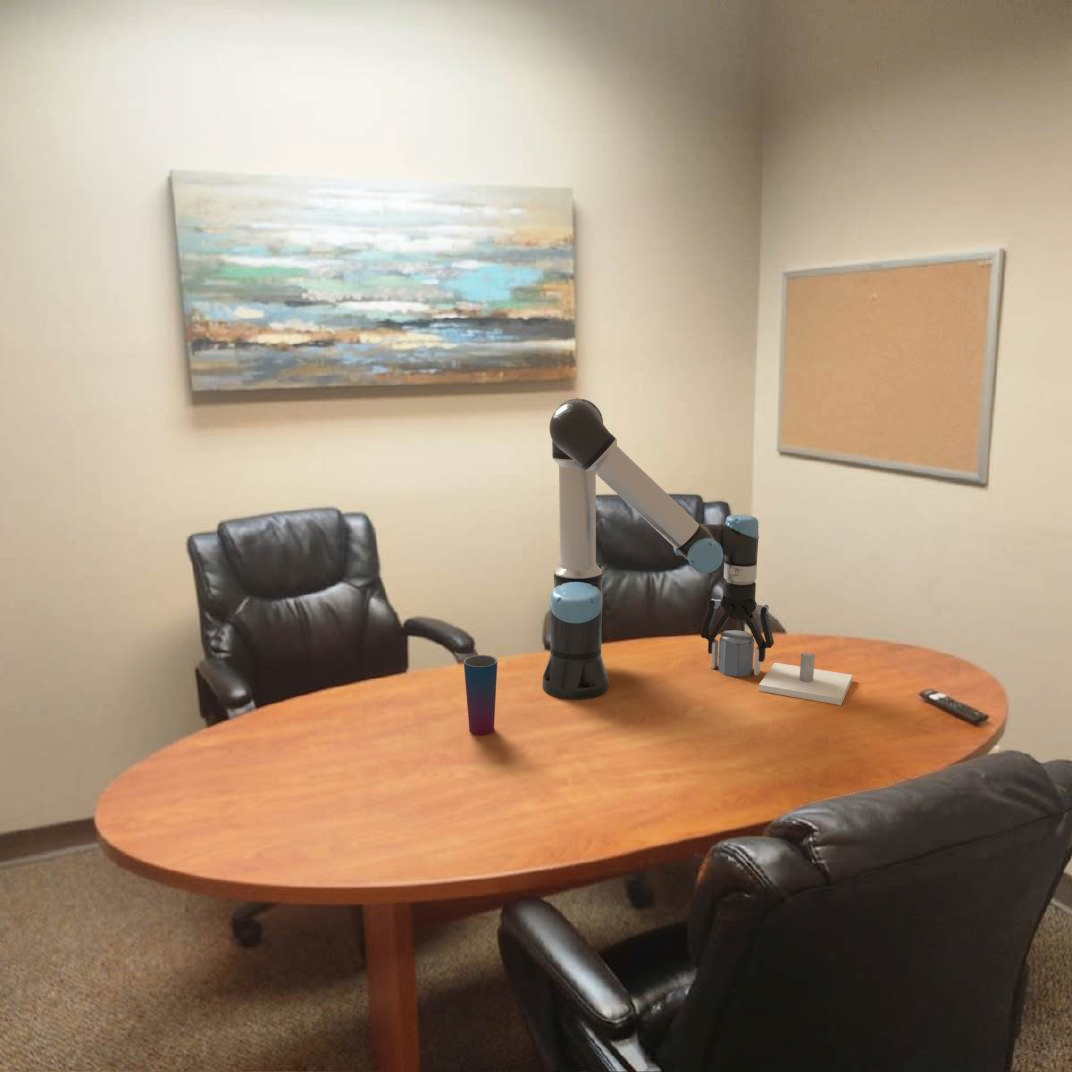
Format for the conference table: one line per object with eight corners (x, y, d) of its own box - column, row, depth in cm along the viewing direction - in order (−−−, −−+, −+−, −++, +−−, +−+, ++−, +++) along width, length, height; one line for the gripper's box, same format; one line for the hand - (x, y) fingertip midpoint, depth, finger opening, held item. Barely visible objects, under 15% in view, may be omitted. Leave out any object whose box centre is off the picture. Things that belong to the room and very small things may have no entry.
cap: (715, 673, 212) (717, 637, 210) (724, 663, 218) (725, 628, 216) (747, 678, 208) (748, 642, 206) (754, 668, 215) (756, 633, 213)
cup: (458, 733, 179) (457, 663, 176) (476, 720, 185) (475, 652, 182) (487, 739, 176) (486, 668, 173) (504, 727, 182) (503, 658, 179)
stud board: (758, 690, 201) (760, 659, 199) (774, 668, 215) (776, 639, 213) (841, 705, 193) (843, 672, 191) (852, 680, 207) (854, 650, 205)
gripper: (689, 578, 210) (685, 667, 215) (784, 590, 200) (778, 683, 205) (698, 571, 217) (695, 657, 221) (791, 582, 207) (785, 672, 211)
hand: (735, 670), depth 213 cm, fingers open, 10 cm apart
